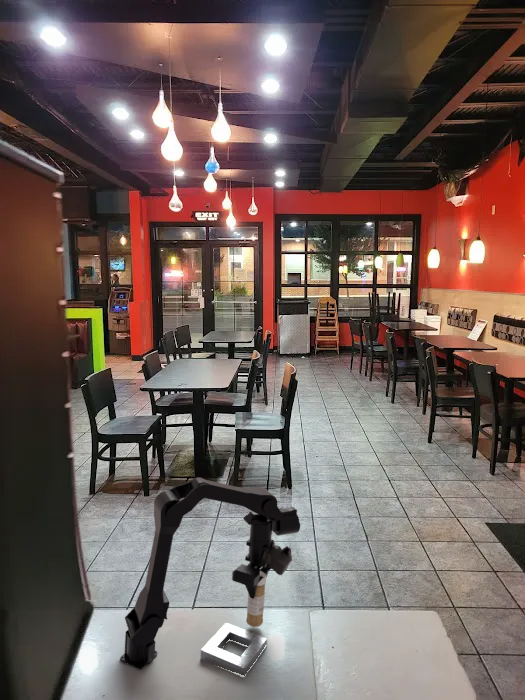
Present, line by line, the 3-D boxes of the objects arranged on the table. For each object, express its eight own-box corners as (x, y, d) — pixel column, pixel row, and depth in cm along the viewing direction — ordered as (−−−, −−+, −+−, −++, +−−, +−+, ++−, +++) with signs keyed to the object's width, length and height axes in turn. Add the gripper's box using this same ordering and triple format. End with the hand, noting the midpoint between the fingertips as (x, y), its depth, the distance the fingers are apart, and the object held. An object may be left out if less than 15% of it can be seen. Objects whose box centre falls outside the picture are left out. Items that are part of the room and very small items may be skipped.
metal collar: (200, 659, 119) (201, 649, 119) (225, 631, 130) (225, 622, 129) (244, 678, 114) (244, 668, 113) (266, 647, 124) (267, 638, 124)
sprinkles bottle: (255, 614, 135) (258, 568, 133) (266, 623, 131) (269, 575, 130) (242, 620, 132) (245, 573, 130) (253, 630, 128) (256, 581, 127)
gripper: (273, 561, 118) (268, 623, 119) (301, 531, 134) (297, 586, 136) (233, 548, 122) (228, 608, 124) (265, 521, 139) (261, 574, 140)
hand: (256, 593), depth 131 cm, fingers closed on sprinkles bottle, 4 cm apart
